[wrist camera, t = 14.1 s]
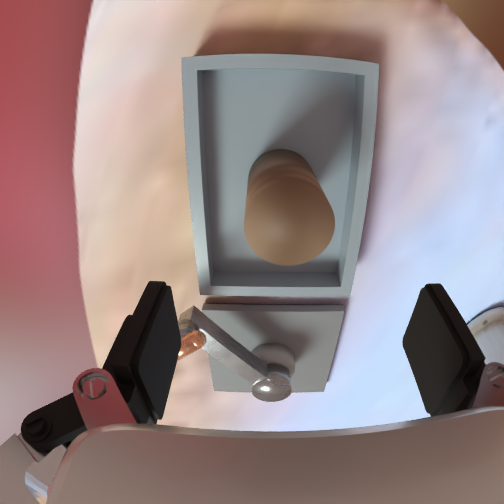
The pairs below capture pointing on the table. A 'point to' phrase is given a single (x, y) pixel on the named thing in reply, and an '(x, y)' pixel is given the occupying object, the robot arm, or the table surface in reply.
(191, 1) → the table surface
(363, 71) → the tray
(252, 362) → the crank
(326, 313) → the crank base
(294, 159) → the block
